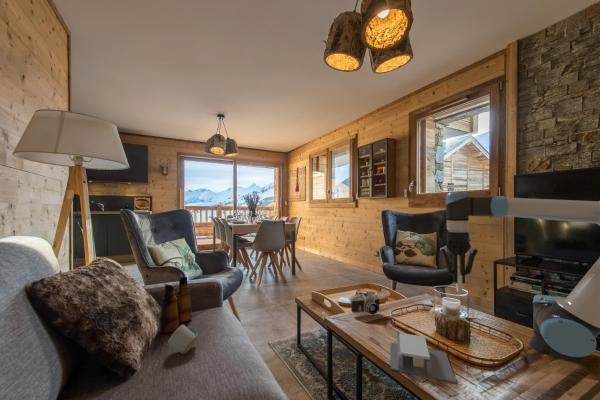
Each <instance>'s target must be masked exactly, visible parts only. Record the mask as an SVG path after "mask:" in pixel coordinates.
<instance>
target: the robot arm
mask: <svg viewBox="0 0 600 400" xmlns="http://www.w3.org/2000/svg"><path fill="white" fill-rule="evenodd" d="M445 197H446V198H445V212H446V214H445V217H446V230H447V231H446V243H445V246H443V247H440V248H439V251H440V252H441V253H442V257H443V259H444V263H445V266H446V269H447V271H448V273H450V274H452V281H453V282H454V283H455V290H456V292H457V293H463V284H465V283H466V276H467V275H471V272H472V269H473V264H474V261H475V256H476V255H477V253H478V252H479V251H478V249H475V248H474V247H472V245H471V243H470V233H469V232H468V231H469V230H470V225H469V224H470V222H469V217H491V218H492V217H494V218H495V217H496V218H498V217H511V218H512V217H513V218H523V219H525V218H526V219H537V220H548V221H560V222H561V221H562V222H575V223H576V222H577V223H585V224H597V225H598V226H599V227H600V200H599V201H597V200H596V201H594V200H593V201H592V200H572V199H570V200H569V199H549V198H523V197H507V196H503V195H487V196H486V195H485V196H484V195H483V196H470V195H469V193H468V191H454V192H453V191H450V192H448V193H446V195H445ZM448 251H449V252H450V253H451V258H452V259H451V261H450V259H449V255H448ZM468 252H469V254H468V257H467V260H466V254H467V253H468ZM458 258H459V270H458ZM451 262H452V265H451ZM458 271H459V272H458ZM532 304H533V318H532V319H533V321H532V323H533V325H532V327H533V328H532V329H533V330H532V332H533V333H532V335H531V337H530V339H529V341H528V345H529V346H530V348H531V349H533V350H535V351H536V352H538V353H541V354H547V355H548V356H550V357H552V358H553V359H559V360H564V361H574V362H575V361H579V359H580V358H585V357H587V356H590V355H591V354H592V353H594V352H595V351H596V349H597V340H596V338H597V337H598V336H599V335H600V257H598V258H597V260H596V261H595V262H594V264H593V265H592V266H591V268H590V269H588V271H587V272H586V273H585V275H584V276H583V277H582V278H581V279H580V280H579V282H578V283H577V284H576V285H575V287H573V289H572V290H571V292H570V293H569V294H568V295H567V296H566V298H562V297H559V296H552V295H546V294H536V295H534V297H533V300H532Z"/></svg>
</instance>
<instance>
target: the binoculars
mask: <svg viewBox="0 0 600 400" xmlns="http://www.w3.org/2000/svg"><path fill="white" fill-rule="evenodd" d="M177 288H178V289H177V291H175V287H174V286H173V285H171V284H165V285H164V294H163V297H162V299H161V308H160V316H159V327H158V331H159V332H160V333H162V334H163V333H171V332H175V331H176V330H177V329H178V328H179V327H180V323H184V322H187V321H189V320H191V319H192V318H193V313H192V311H193V310H192V302H191V300H192V299H191V290H190V288H189V285H188V277H187V276H181V278H180V279H179V281H178V286H177Z"/></svg>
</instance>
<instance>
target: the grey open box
mask: <svg viewBox="0 0 600 400" xmlns="http://www.w3.org/2000/svg"><path fill="white" fill-rule="evenodd" d="M399 333H401V331H400V330H396V342H392V341H391V342H390V348H389V349H390V370H391V371H393V372H400V373H405V374H408V375H412V376H413V375H414V376H418V377H419V376H420V377H423V378H428V379H433V380H438V381H442V382H447V383H452V384H457V380H456V376H455V373H454V371H453V369H452V366H451V363H450V361H449V358H448V355H447V353H446V351H443V350H442V351H440V350H435V349H430V348H428V352H429V356H430V360H428V359H424V368H422V367H417V366H413V361H412V357H411V356H405V355H401V352H400V338H399ZM425 340H426V341H427V339H426V338H425Z"/></svg>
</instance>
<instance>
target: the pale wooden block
mask: <svg viewBox="0 0 600 400" xmlns="http://www.w3.org/2000/svg"><path fill="white" fill-rule="evenodd" d="M412 361H413V366H417V367H422V368H424V359H422V358H417V357H412Z"/></svg>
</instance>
